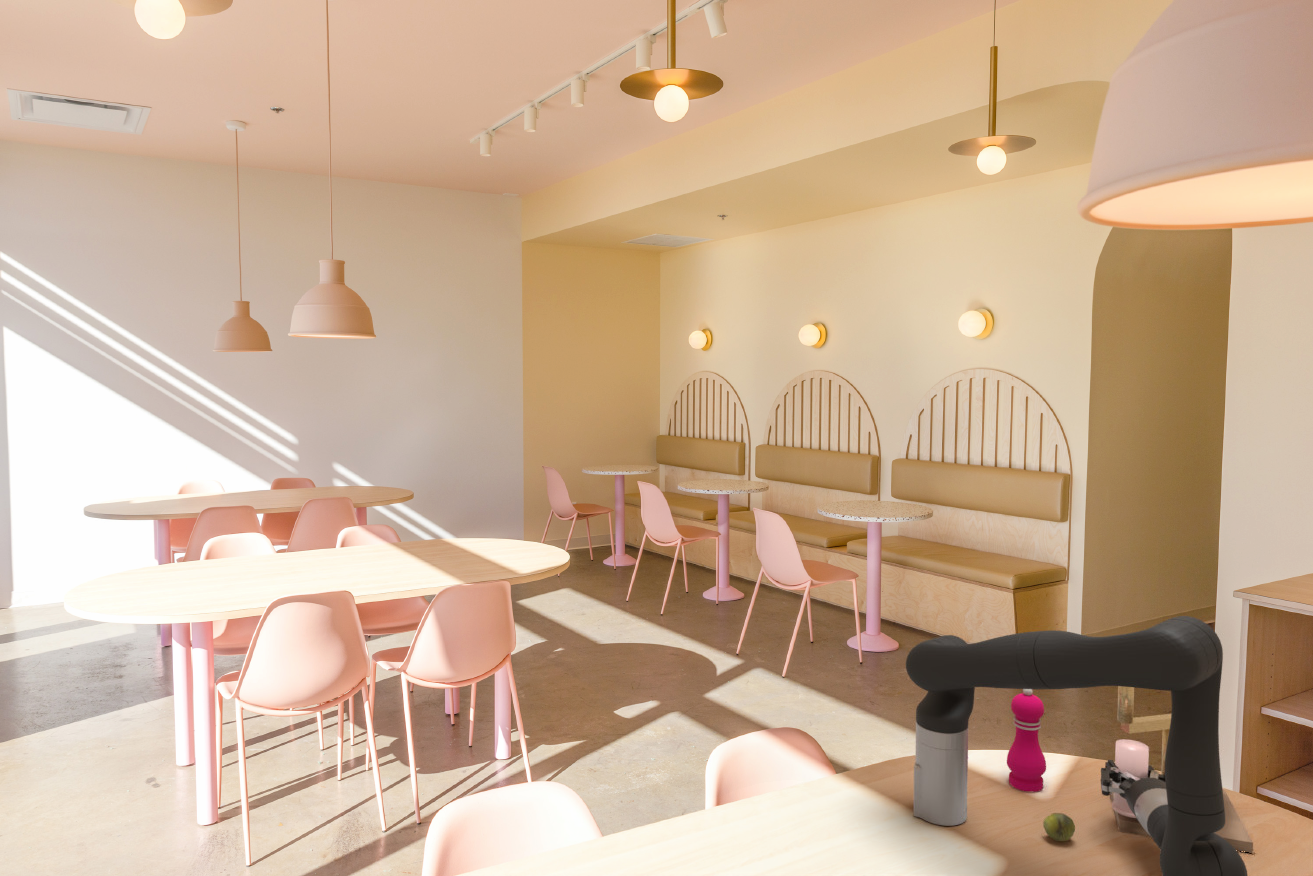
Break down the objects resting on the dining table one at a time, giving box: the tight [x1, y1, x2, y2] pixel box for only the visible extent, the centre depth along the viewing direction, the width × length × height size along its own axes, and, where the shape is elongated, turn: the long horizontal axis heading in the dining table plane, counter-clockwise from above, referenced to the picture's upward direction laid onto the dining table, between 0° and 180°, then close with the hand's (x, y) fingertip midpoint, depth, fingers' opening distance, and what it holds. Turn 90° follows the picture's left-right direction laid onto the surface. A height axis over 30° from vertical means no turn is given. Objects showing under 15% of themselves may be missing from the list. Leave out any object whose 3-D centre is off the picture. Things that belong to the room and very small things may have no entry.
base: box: [1109, 789, 1254, 854], centre depth 157 cm, size 20×20×3 cm
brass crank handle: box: [1116, 686, 1171, 775], centre depth 161 cm, size 16×3×27 cm, turn 102°
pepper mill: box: [1006, 689, 1047, 793], centre depth 168 cm, size 7×7×20 cm
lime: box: [1043, 812, 1076, 842], centre depth 149 cm, size 4×5×5 cm
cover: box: [1111, 738, 1150, 818], centre depth 153 cm, size 6×6×12 cm
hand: (1126, 766), depth 155 cm, fingers closed on cover, 5 cm apart
